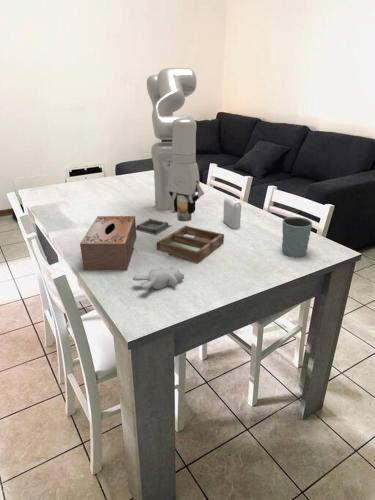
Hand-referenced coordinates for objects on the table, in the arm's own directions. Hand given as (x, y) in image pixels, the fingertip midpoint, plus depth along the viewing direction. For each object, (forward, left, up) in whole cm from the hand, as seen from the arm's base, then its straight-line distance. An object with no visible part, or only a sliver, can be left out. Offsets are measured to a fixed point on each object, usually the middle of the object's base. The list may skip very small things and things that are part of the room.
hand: (184, 211), depth 127 cm
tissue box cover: (+14, -22, -16) cm, 31 cm away
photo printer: (-34, +3, -16) cm, 38 cm away
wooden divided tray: (-5, 0, -16) cm, 17 cm away
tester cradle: (-12, -23, -16) cm, 30 cm away
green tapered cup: (-21, +34, -16) cm, 43 cm away
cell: (0, 0, -3) cm, 3 cm away
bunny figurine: (+24, +6, -16) cm, 29 cm away
